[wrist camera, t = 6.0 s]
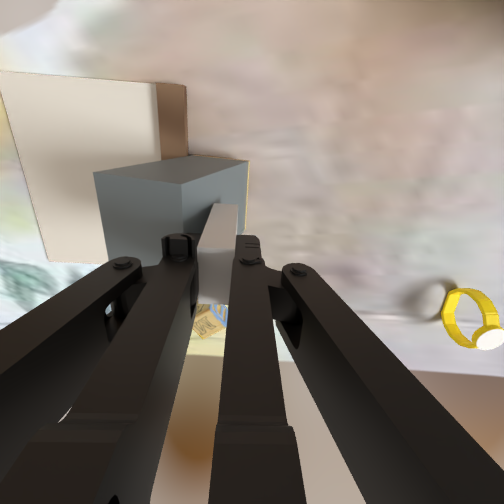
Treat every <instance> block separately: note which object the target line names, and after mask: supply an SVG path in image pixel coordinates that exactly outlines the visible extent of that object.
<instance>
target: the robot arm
mask: <svg viewBox="0 0 504 504" xmlns="http://www.w3.org/2000/svg"><path fill="white" fill-rule="evenodd" d="M237 220H238V205H237V204H218V203H214V204H213V207H212V209H211V212H210V215H209V217H208V220H207V222H206V225H205V228H204V230H203V233H202V234H200V233H187V234H184V233H174V234H168V235H166V236H164V237H162V238H161V244H162V255H163V257H162V259H161V261H160V262H159V264H158V265H153V266H145V267H142V265H141V260H139V259H138V258H135V257H128V256H124V257H123V256H122V257H118V258H115V259H112V260H110V261H108V262H106V263H105V264H103V265H101V266H100V267H98V268H97V269H95V270H94V271H92V272H91V273H89V274H87V275H86V276H84V277H83V278H81V279H80V280H78V281H76V282H75V283H73V284H72V285H70V286H69V287H67V288H65V289H64V290H62V291H61V292H59V293H58V294H56V295H55V296H53V297H51V298H50V299H48V300H47V301H45V302H44V303H42V304H40V305H39V306H37V307H36V308H34V309H33V310H31V311H29V312H28V313H26V314H25V315H23V316H22V317H20V318H18V319H17V320H15V321H14V322H12V323H11V324H9V325H8V326H6V327H4V328H3V329H1V330H0V504H150V497H151V492H152V488H153V484H154V480H155V476H156V472H157V468H158V464H159V459H160V456H161V452H162V448H163V444H164V440H165V436H166V432H167V428H168V424H169V420H170V416H171V412H172V408H173V404H174V400H175V396H176V392H177V388H178V384H179V380H180V376H181V372H182V368H183V364H184V359H185V356H186V352H187V348H188V344H189V340H190V336H191V332H192V328H193V324H194V320H195V316H196V312H197V297H198V304H219V305H229V306H228V317H227V327H226V338H225V349H224V361H223V371H222V382H221V392H220V403H219V415H218V423H217V425H216V431H215V440H214V450H213V460H212V470H211V480H210V490H209V501H208V504H307V503H306V497H305V490H304V485H303V478H302V471H301V466H300V459H299V453H298V447H297V442H296V437H295V432H294V430H293V427H292V426H288V423H287V419H286V412H285V405H284V398H283V390H282V384H281V376H280V369H279V362H278V354H277V347H276V340H275V333H274V326H273V319H275V320H276V326H277V328H278V330H279V332H280V334H281V336H282V338H283V340H284V342H285V344H286V346H287V348H288V350H289V352H290V354H291V356H292V358H293V360H294V362H295V364H296V365H297V368H298V370H299V372H300V373H301V375H302V377H303V379H304V381H305V383H306V385H307V387H308V389H309V391H310V393H311V395H312V397H313V399H314V401H315V403H316V405H317V407H318V409H319V411H320V413H321V415H322V417H323V419H324V421H325V423H326V425H327V427H328V429H329V431H330V433H331V435H332V437H333V439H334V441H335V442H336V445H337V446H338V448H339V450H340V452H341V454H342V456H343V458H344V460H345V462H346V464H347V466H348V468H349V470H350V472H351V474H352V476H353V478H354V480H355V482H356V484H357V486H358V488H359V490H360V492H361V494H362V496H363V497H364V500H365V502H366V504H504V471H503V469H501V467H500V466H499V465H498V464H497V463H496V462H495V461H494V460H493V459H492V458H491V457H490V456H489V455H488V454H487V453H486V451H485V450H484V449H483V448H482V447H481V446H480V445H479V444H478V443H477V442H476V441H475V440H474V439H473V438H472V437H471V436H470V434H469V433H468V432H467V431H466V430H465V429H464V428H463V427H462V426H461V425H460V424H459V423H458V422H457V421H456V420H455V419H454V417H453V416H452V415H451V414H450V413H449V412H448V411H447V410H446V409H445V408H444V407H443V406H442V405H441V404H440V403H439V402H438V401H437V400H436V399H435V397H434V396H433V395H432V394H431V393H430V392H429V391H428V390H427V389H426V388H425V387H424V386H423V385H422V384H421V383H420V382H419V380H418V379H417V378H416V377H415V376H414V375H413V374H412V373H411V372H410V371H409V370H408V369H407V368H406V367H405V366H404V365H403V363H402V362H401V361H400V360H399V359H398V358H397V357H396V356H395V355H394V354H393V353H392V352H391V351H390V350H389V349H388V348H387V346H386V345H385V344H384V343H383V342H382V341H381V340H380V339H379V338H378V337H377V336H376V335H375V334H374V333H373V332H372V331H371V330H370V328H369V327H368V326H367V325H366V324H365V323H364V322H363V321H362V320H361V319H360V318H359V317H358V316H357V315H356V314H355V313H354V312H353V310H352V309H351V308H350V307H349V306H348V305H347V304H346V303H345V302H344V301H343V300H342V299H341V298H340V297H339V296H338V295H337V294H336V292H335V291H334V290H333V289H332V288H331V287H330V286H329V285H328V284H327V283H326V282H325V281H324V280H323V279H322V278H321V277H320V275H319V274H318V273H317V272H316V271H315V270H314V269H312V268H311V267H309V266H307V265H305V264H302V263H291V264H287V265H285V266H283V268H282V271H277V270H273V269H271V268H268V267H267V266H265V261H264V260H263V258H262V257H261V249H260V241H259V239H258V238H257V237H256V236H254V235H237ZM109 304H111V310H112V311H111V312H110V313H109V314H107V315H106V313H105V310H106V308H107V307H108V305H109ZM71 407H72V408H71ZM70 408H71V409H70ZM69 409H70V411H69V413H68V414H67V416H66V417H65V418H64V419H63V420H62V421H60V422H59V420H60V419H61V418H62V417H63V416H64V415H65V414H66V413H67V411H68V410H69ZM58 422H59V423H58Z"/></svg>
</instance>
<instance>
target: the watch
mask: <svg viewBox="0 0 504 504" xmlns="http://www.w3.org/2000/svg"><path fill="white" fill-rule="evenodd" d="M461 294H467V295H469V296H470V297H471V298H472V299H473V300H474V301H475V302H476V303H477V305H478V307H479V309H480V311H481V313H482V314H483V315H482V317H483V326H482V327H481V328H479V329H478V330H476V331H475V332H474V334H473V335H472V342H471V341H469V340H468V339H467V338H466V337H465V336H463V335H462V333H461V331H460V330H459V328H458V326H457V325H456V321H455V316H454V311H455V309H456V306H457V303H458V301H459V298H460V295H461ZM441 317H442V322H443V324H444V327H445V329H446V331H447V333H448V335H449V336H450V337H451V338H452V339H453V340H454V341H455V342H456V343H457V344H458V345H460V346H463V347H466V348H479V349H481V350H491V349H494V348H496V347H498V346H500V345H501V344H502V343H503V342H504V329H503V328H502V327H500V323H499V315H498V312H497V310H496V308H495V307H494V305H493V303H492V301H491V300H490V299H489V298H488V297H487V296H486V295H484V294H483V293H482V292H481V291H479V290H475V289H470V288H456V289H454V290H451V291H449V292H448V295H447V298H446V301H445V303H444V306H443V309H442V311H441Z"/></svg>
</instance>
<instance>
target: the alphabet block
mask: <svg viewBox="0 0 504 504" xmlns="http://www.w3.org/2000/svg"><path fill="white" fill-rule="evenodd" d="M227 317H228V309H227V307H226V306H225V305H219V304H198V301H197V312H196V316H195V320H194V324H193V328H192V329H193V330H194V331H195V332H196V333H197V334H198V335H199V336H200V337H201V338H202V339H206V338H208V337H209V336H211V335H213V334H215V333H217V332H219V331H221V330H222V329H224V328H226V327H227Z"/></svg>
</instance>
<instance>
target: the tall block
mask: <svg viewBox="0 0 504 504" xmlns="http://www.w3.org/2000/svg"><path fill="white" fill-rule="evenodd" d="M249 164H250V161H247V160H238V159H229V158H219V157H210V156H201V155H190V156H184V157H178V158H173V159H167V160H161V161H155V162H149V163H143V164H138V165H132V166H126V167H120V168H114V169H108V170H103V171H97V172H93V176H94V182H95V188H96V193H97V199H98V204H99V210H100V216H101V221H102V227H103V232H104V238H105V244H106V249H107V255H108V260H109V261H110V260H112V259H115V258H118V257H122V256H123V257H124V256H128V257H135V258H138V259H139V260H141V265H142V267H145V266H153V265H158V264H159V262H160V261H161V259H162V257H163V255H162V244H161V238H162V237H164V236H166V235H168V234H174V233H184V234H187V233H200V234H202V233H203V230H204V228H205V225H206V222H207V220H208V217H209V215H210V212H211V209H212V207H213V204H214V203H218V204H237V205H238V220H237V235H241V234H242V233H243V231H244V230H245V229H246V213H247V197H248V181H249Z"/></svg>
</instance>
